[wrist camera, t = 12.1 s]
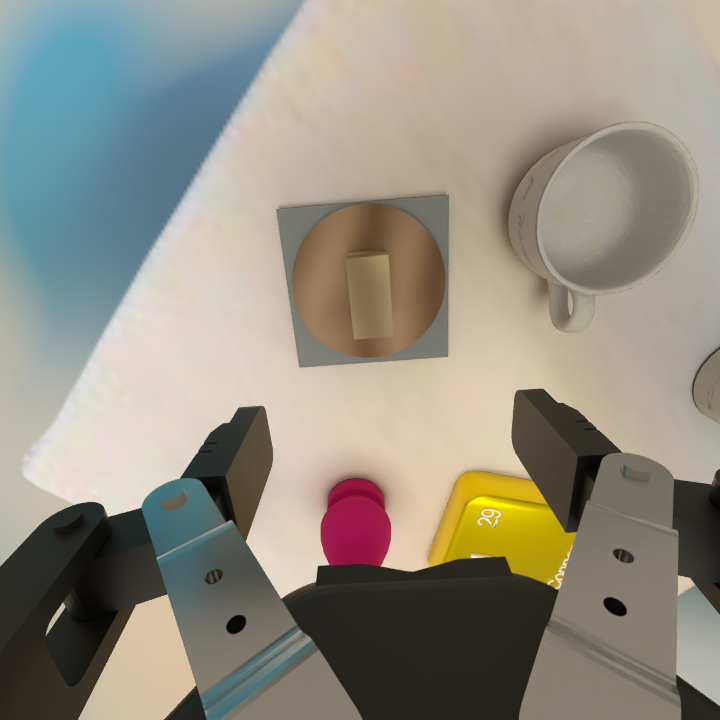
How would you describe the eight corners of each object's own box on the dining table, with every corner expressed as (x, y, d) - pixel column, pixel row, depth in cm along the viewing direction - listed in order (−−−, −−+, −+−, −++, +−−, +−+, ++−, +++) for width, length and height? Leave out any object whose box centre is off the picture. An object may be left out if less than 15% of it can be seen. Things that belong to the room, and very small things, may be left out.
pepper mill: (392, 477, 42) (418, 686, 24) (384, 527, 45) (401, 752, 26) (326, 471, 42) (300, 679, 24) (322, 523, 45) (295, 746, 26)
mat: (446, 195, 32) (448, 194, 31) (445, 353, 37) (447, 356, 36) (278, 209, 32) (276, 209, 32) (300, 363, 38) (299, 367, 37)
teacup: (529, 123, 30) (584, 95, 23) (651, 165, 31) (743, 151, 24) (463, 293, 35) (492, 316, 28) (572, 324, 36) (627, 354, 29)
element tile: (537, 582, 49) (555, 620, 44) (423, 564, 48) (429, 600, 43) (587, 488, 44) (613, 520, 39) (460, 465, 42) (471, 495, 38)
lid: (442, 196, 31) (460, 193, 26) (443, 347, 36) (459, 373, 30) (282, 211, 32) (266, 212, 26) (305, 359, 36) (295, 386, 31)
